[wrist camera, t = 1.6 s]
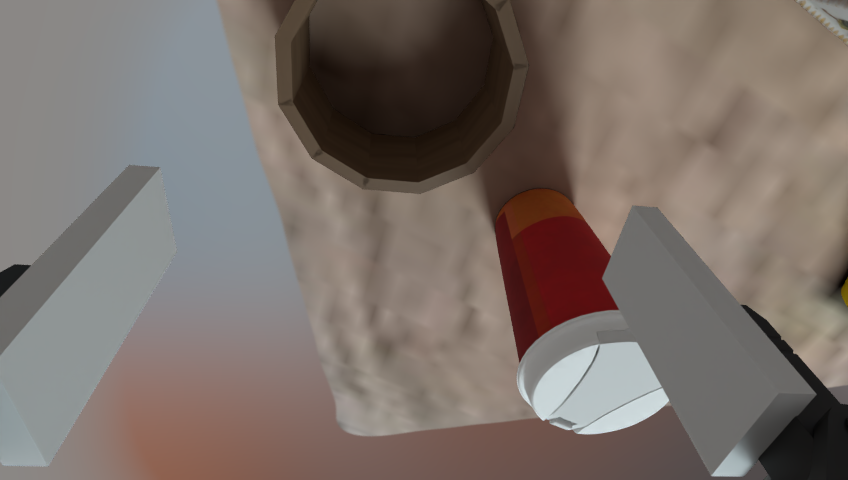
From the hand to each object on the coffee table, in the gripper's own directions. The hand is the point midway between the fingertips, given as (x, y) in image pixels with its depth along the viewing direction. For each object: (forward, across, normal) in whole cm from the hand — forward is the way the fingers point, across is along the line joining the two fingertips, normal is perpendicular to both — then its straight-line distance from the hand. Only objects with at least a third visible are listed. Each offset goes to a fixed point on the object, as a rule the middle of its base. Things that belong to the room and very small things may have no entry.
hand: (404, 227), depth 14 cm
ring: (+18, 0, 0) cm, 18 cm away
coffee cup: (+18, +11, -11) cm, 24 cm away
